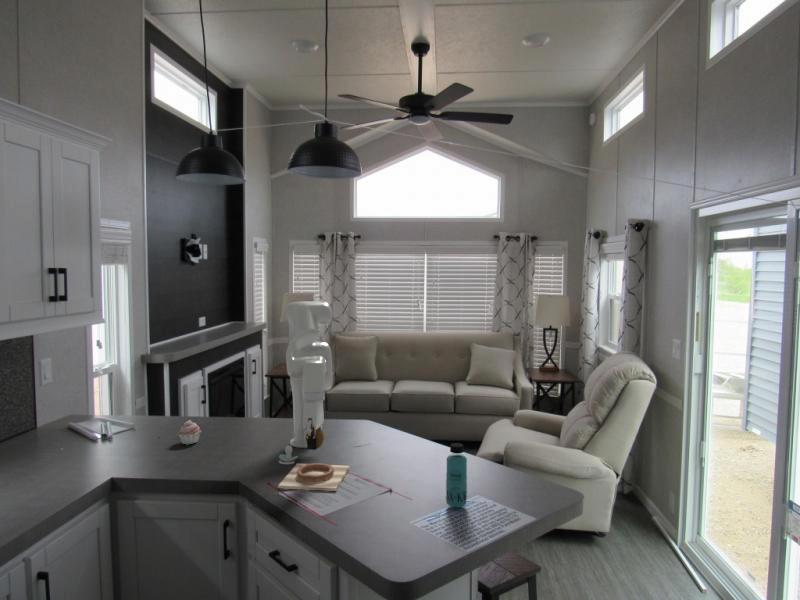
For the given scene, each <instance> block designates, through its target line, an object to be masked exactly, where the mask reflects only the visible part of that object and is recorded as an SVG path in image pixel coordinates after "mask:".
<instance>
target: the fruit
mask: <svg viewBox="0 0 800 600" xmlns="http://www.w3.org/2000/svg"><path fill="white" fill-rule="evenodd" d="M311 429H314V428H311ZM311 432H313V433H314V431H311ZM315 438H317V449H319V448H321V447H322V445H323V443H324V441H325V435H324V433H323V429H322V430H321V429H320V428H318V429H317V430H316V437H315ZM306 442H307V434H306Z"/></svg>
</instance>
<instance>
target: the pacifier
mask: <svg viewBox="0 0 800 600" xmlns="http://www.w3.org/2000/svg"><path fill="white" fill-rule="evenodd" d="M284 452H285V454H279V456H278V457H279V459H280V460H278V463H279V464H281V465H293V464H295V462H296V461H295V460H296V459H297V458H298V457H299V455H295V456H292V452H293V446H291V445H290V444H289V445H286V446H285V447H284ZM282 461H283V462H282ZM286 462H288V463H286Z"/></svg>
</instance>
